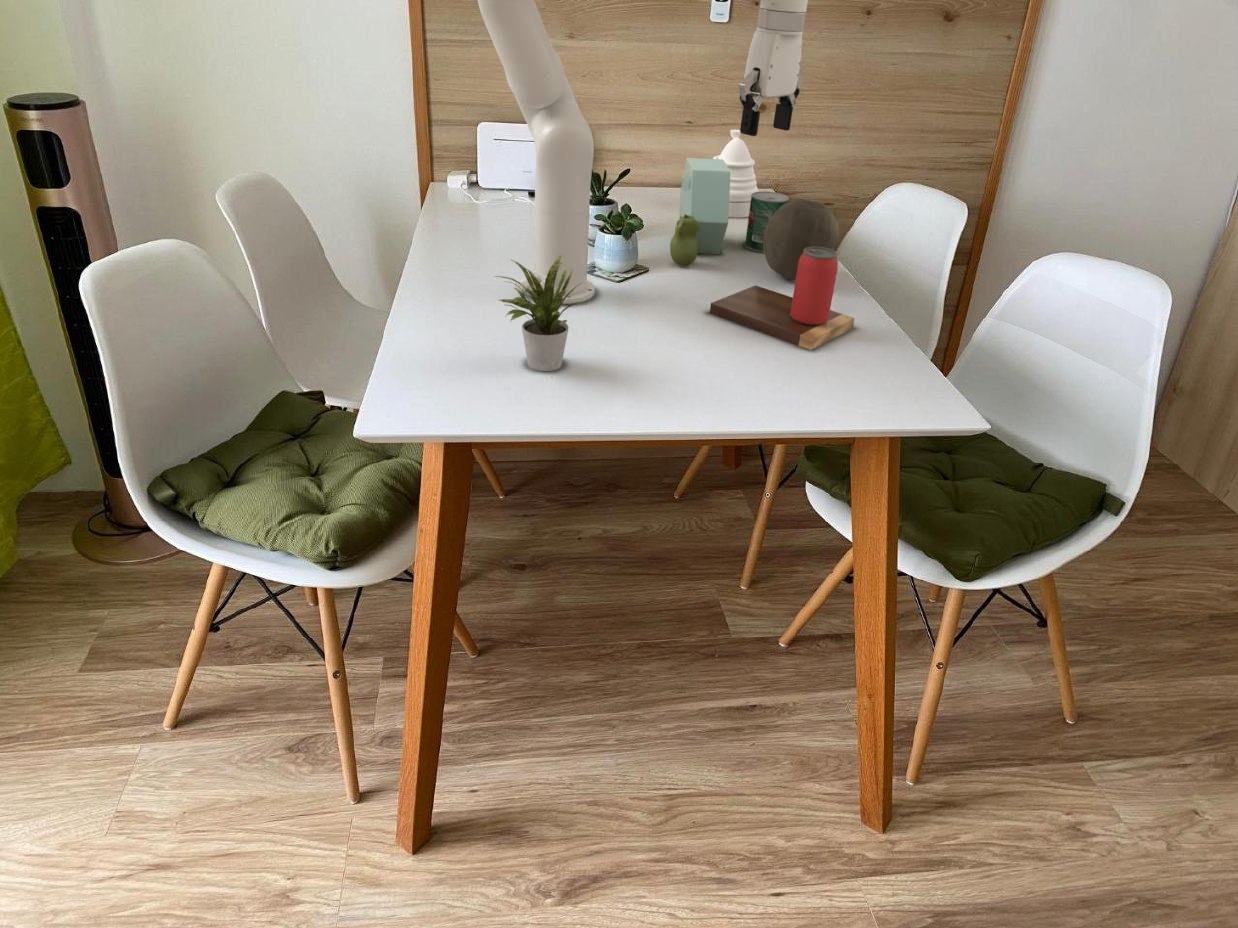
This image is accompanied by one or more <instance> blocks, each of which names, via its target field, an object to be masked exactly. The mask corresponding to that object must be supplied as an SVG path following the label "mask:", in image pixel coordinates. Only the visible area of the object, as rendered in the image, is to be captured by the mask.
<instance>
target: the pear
mask: <svg viewBox="0 0 1238 928" xmlns="http://www.w3.org/2000/svg"><path fill="white" fill-rule="evenodd" d="M679 219H680V220H679ZM679 219H678V220H677V221H676V224H675V227H674V234H673V236H672V237H671V241H670V244H669V251H670V257H671V260H672V261H673V262H674V263H675V264H676V265H678V266H681V267H685V266H686V267H687V266H690V265H691V264H693V263H694V262H695V261H696V260H697V257H698V254H699V253H698V242H697V238H696V233H697V232H698V230H699V225H698V222H697V220H695V219H694V217H693V216H690V215H686V214H685V215H684V217H681V216H680V215H679Z"/></svg>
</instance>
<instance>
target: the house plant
mask: <svg viewBox="0 0 1238 928" xmlns="http://www.w3.org/2000/svg"><path fill="white" fill-rule="evenodd" d="M560 259H561V256H559V257H558V258H557V259H556V261H555V262H554V264H553V265H552V266H551V267H550V269H549V272H548V274H547V277H546V279H545V286H544V291H543V288H542V286H541V284H540V282H539V281H538V279H537V278H536V277H535V276H534V274H532V272H531V270H529V269H528V268H526V267H525V266H523V265H522V264H521V263H520V262H517V261H516V260H512V259H511V261H512V262H513V263H515V264H516V265H517V266H518V267H519V268H520V269H521V271H522V272H523V274H524V277H525V279H527V281H528V283H529V285H530V287H531V289H532V290H530V289H528V288H525V287H524V286H523V285H522V284H521V283H519V282H518V281H519V280H516V279H514V278H511V277H508V276H502V275H494V278H495V277H496V278H501V279H502V278H503V279H507V280H509V284H513V285H514V287H513V289H514V290H515V291H516V292H517V293H518V295H519V296H517V297H514V298H508V299H507V298H503V299H499V301H500V302H502V303H506V304H505V306H508V307H511V308H514V309H511V310H510V311H508V312H507V313H506V315H505V317H507V316H509V315H512V316H511V318H510V320H509V323H511V322H512V321H513V320H515V319H519V318H520V317H522V316H525V317H526V318H528V316H527V315H529V316H530V317H531V318H529V319H528V320H525V321H523V323H522V324H521V331H522V338H523V342H524V350H525V354H526V361H527V365H528V367H529V368H530V369H532V370H535V371H538V372H553V371H556V370H559V369H560V368H561V367H562V365H563V359H564V353H565V350H566V343H567V339H568V334H569V325H568V323H567V322H568V320H567V319H563V320H561V319H559V318H560V317H561V316H562V314H563V312H565V311H566V310H567V309H568V308H570V307H572V306H575V305H581V304H583V305H586V303H585V301H583V302H576V303H572V304H568V305H567V306H566V307H565V308H564V309H562V311H561V312H560V311H559V310H560V308H561V306H562V305H563V304H562V303H563V301H564V300H565V298H566V297H567V296H568V295H569V294H570V293H571V292H572V291H573V290H574V289H575V288H576V287H577V286H578V285H577V286H575V287H574V288H573V289H572V290H571V291H570V292H569V293H568V294H567V295H566V296H565V297H564V298H563V296H564V294H565V292H566V291H567V290H566V291H565V289H566V287H567V285H568V283H569V281H570V278H571V275H572V271H573V270H572V271H571V273H570V275H569V277H568V278H567V279H566V281H565V284H564V286H563V288H562V290H561V292H560V289H561V286H562V284H563V281H564V279H565V276H566V271H567V266H566V268H565V270H564V272H563V274H562V276H561V280H560V282H559V285H558V287H557V290H556V293H555V294H554V285H555V280H556V276H557V272H558V269H559V266H560V265H561V264H562V263H560ZM530 276H531V277H530ZM531 279H532V280H531ZM511 281H513V282H511ZM532 281H533V282H532ZM514 282H515V283H516V282H517V283H519V284H520V285H522V286H523V288H525V290H526V291H522V292H521V291H520V290H518V289H516V288H515V285H516V284H515V283H514ZM503 283H507V281H503ZM533 283H534V284H533ZM580 284H581V283H580ZM580 284H579V285H580ZM516 286H517V285H516ZM534 286H535V287H534ZM518 287H519V286H518ZM519 288H520V287H519ZM535 288H536V289H535ZM520 289H521V288H520ZM521 290H522V289H521ZM568 291H569V290H568ZM525 292H526V294H527V293H528V294H529V295H530V296H529V295H528V294H527V295H528V296H529V297H531V299H532V301H533V302H534V303H532V301H530V298H529V297H528V296H527V295H526V294H525ZM559 292H560V293H559ZM507 303H508V304H507ZM511 304H512V305H511ZM517 307H519V308H521V309H519V308H517ZM522 309H525V310H522ZM526 310H528V311H529V312H530V313H529V312H528V311H526Z"/></svg>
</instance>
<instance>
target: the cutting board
mask: <svg viewBox="0 0 1238 928" xmlns="http://www.w3.org/2000/svg"><path fill="white" fill-rule="evenodd" d="M792 299H793V296H789V295H786V294H783V293H780V292H777V291H775V290H771V289H768V288H765V287H762V286H760V285H753V286H750V287H748V288H745V289H743V290H740V291H738V292H735V293H731V294H730V295H728V296H725V297H723V298H720V299H718V300H715V301H712V302H710V307H709V314H710V315H713V316H716V317H718V318H721V319H724V320H726V321H730V322H732V323H735V324H738V325H741V326H744V327H746V328H749V329H752V330H754V331H757V332H760V333H762V334H764V335H768V336H771V337H773V338H777V339H780V340H781V341H784V342H787V343H790V344H793V345H795V346H798V347H801V348H804V349H806V350H808V351H812V350H814V349H816V348H818V347H820V346H821V345H824V344H825V343H827V342H829V341H831V340H833V339H835V338H837V337H839V336H841V335H842V334H845V333H847V332H848V331H850V330H852V329H853V328H854V324H855V318H856V317H854V316H850V315H847V314H844V313H841V312H838V311H835V310H832V309H830V312H829V318H828V320H827V321H826V322H825V323H824V324H821V325H805V324H801V323H799V322H796V321H795V320H793V319H792V317H791V316H790V312H791V305H792Z"/></svg>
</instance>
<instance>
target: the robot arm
mask: <svg viewBox="0 0 1238 928" xmlns="http://www.w3.org/2000/svg"><path fill="white" fill-rule="evenodd" d="M808 3H809V0H760V3H759V11H758V17H757V26H756V30H754V33H753V36H752V38H751V43H750V46H749V50H748V55H747V59H746V64H745V70H744V75H743V79H741V80H740V81H739V82H738V90H739V101H740V103H741V105H740V108H741V109H742V114H741V120H740V129H739V130H740V132H741V134H743V135H746V136H750V137H756V136H757V135H758V130H759V123H760V116H761V110H759V109H760V107H761V105H762V104H763V101H764V100H765V99H773V98H775V99H776V98H777V100H778V103H776V105H775V109H774V110H775V111H774V118H773V124H772V127H773V128H774V129H776V130H781V131H786V132H787V131H790V129H791V125H792V124H791V123H792V118H793V113H794V112H793V110H794V107H795V106H796V103H797V99H798V97H799V95H800V89H801V88H802V86H803V82H804V78H805V77H804V76H803V75H802V74H801V73H800V69H801V68H800V67H801V61H802V49H803V35H804V28H805V22H806V15H807V10H808ZM477 4H478V8H479V12H480V15H481V18H482V20H483V23H484V25H485V27H486V29H487V31H488V35H489V36H490V40H491V41H492V42H491V43H492V44H493V47H494V50H495V51H496V54H497V56H498V58H499V60H500V63H501V65H502V67H503V70H504V72H505V73H504V74H505V78H506V82H507V85H508V86H509V89H510V90H511V92H512V94H513V96H514V98H515V101H516V102H517V104H518V107H519V110H520V111H521V114H522V116H523V118H524V120H525V122H526V124H527V125H526V126H527V127H528V129H529V132H530V134H531V136H532V138H533V140H534V145H535V179H534V208H535V209H534V268H533V269H530V271H531V272H532V274H534V276H535V277H536V278H537V279H538V281H539V282H540V284H541V286H542V288H543V291H544V286H545V279H546V277H547V274H548V272H549V269H550V267H551V266H552V265H553V264H554V262H555V261H556V259H557V258H558V257H559V256H561V259H560V263H562V264H561V265H560V266H559V269H558V272H557V276H556V280H555V285H554V294H555V293H556V290H557V287H558V285H559V282H560V280H561V276H562V274H563V272H564V270H565V268H566V266H567V271H566V276H565V279H564V281H563V284H562V286H561V289H560V292H561V290H562V288H563V286H564V284H565V281H566V279H567V278H568V277H569V275H570V273H571V271H572V270H573V271H572V275H571V278H570V281H569V283H568V285H567V287H566V289H565V291H566V290H567V291H566V292H565V294H564V296H563V298H564V297H565V296H566V295H567V294H568V293H569V292H570V291H571V290H572V289H573V288H574V287H575V286H577V285H578V286H577V287H576V288H575V289H574V290H573V291H572V292H571V293H570V294H569V295H568V296H567V297H566V298H565V300H564V301H563V303H562V305H571V304H573V303H576V302H585V301H588V300H590V299H591V298H593V297H594V296H595V293H596V287H595V285H594V284H593V283H592V282H591V281H590V280H588V260H589V259H588V258H589V257H588V256H589V232H590V205H591V204H590V199H591V185H592V184H591V183H592V182H591V181H592V173H593V164H594V155H595V153H594V152H595V151H594V150H595V147H594V146H595V143H594V137H593V132H592V130H591V128H590V125H589V123H588V122H587V120H586V118H585V117H584V115H583V113H582V112H581V109H580V107H579V104H578V102H577V100H576V97H575V94H574V92H573V90H572V87H571V85H570V83H569V80H568V78H567V76H566V73H565V69H564V65H563V62H562V60H561V58H560V56H559V54H558V53H557V52H556V50H555V49H554V46H553V44H552V41H551V40H550V37H549V35H548V32H547V30H546V28H545V26H544V23H543V21H542V20H543V19H542V16H541V14H540V11H539V9H538V6H537V4H536V1H535V0H477ZM754 98H756V99H755V100H754ZM530 277H531V276H530ZM531 280H532V279H531ZM517 281H518V282H519V283H521V284H522V285H523V286H524V287H525V288H528V289H530V290H532V289H531V287H530V285H529V283H528V281H527V279H526V278H524V279H521V280H517ZM532 282H533V281H532ZM519 283H517V282H515V283H514V288H516V289H518V290H520V291H521V292H522V291H523V292H526V290H525V288H523V286H522V285H520V284H519ZM580 283H581V284H580ZM515 284H516V285H517V286H516V285H515ZM533 284H534V283H533ZM579 284H580V285H579ZM518 286H519V287H520V288H521V289H522V290H521V289H520V288H519V287H518ZM534 287H535V286H534ZM516 289H515V290H516ZM535 289H536V288H535ZM568 290H569V291H568ZM523 292H522V293H523ZM560 292H559V293H560ZM526 294H527V295H528V296H529V297H531V296H530V295H529V294H528V293H527V292H526Z"/></svg>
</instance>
